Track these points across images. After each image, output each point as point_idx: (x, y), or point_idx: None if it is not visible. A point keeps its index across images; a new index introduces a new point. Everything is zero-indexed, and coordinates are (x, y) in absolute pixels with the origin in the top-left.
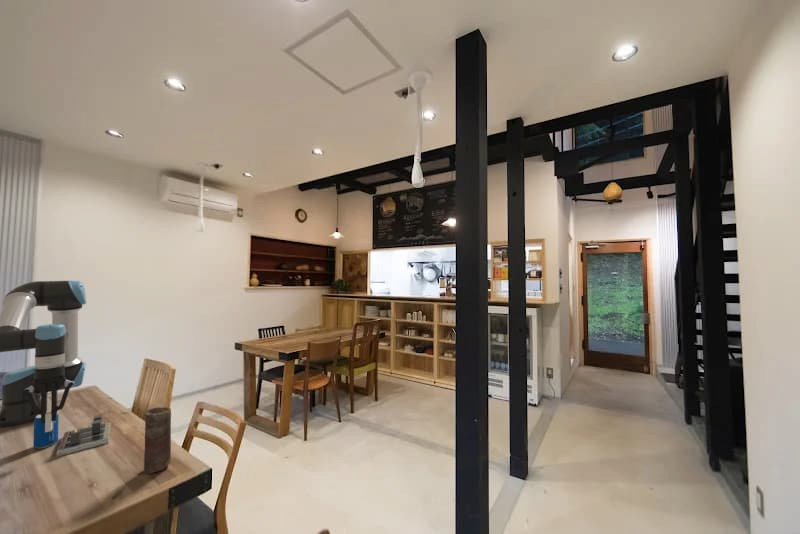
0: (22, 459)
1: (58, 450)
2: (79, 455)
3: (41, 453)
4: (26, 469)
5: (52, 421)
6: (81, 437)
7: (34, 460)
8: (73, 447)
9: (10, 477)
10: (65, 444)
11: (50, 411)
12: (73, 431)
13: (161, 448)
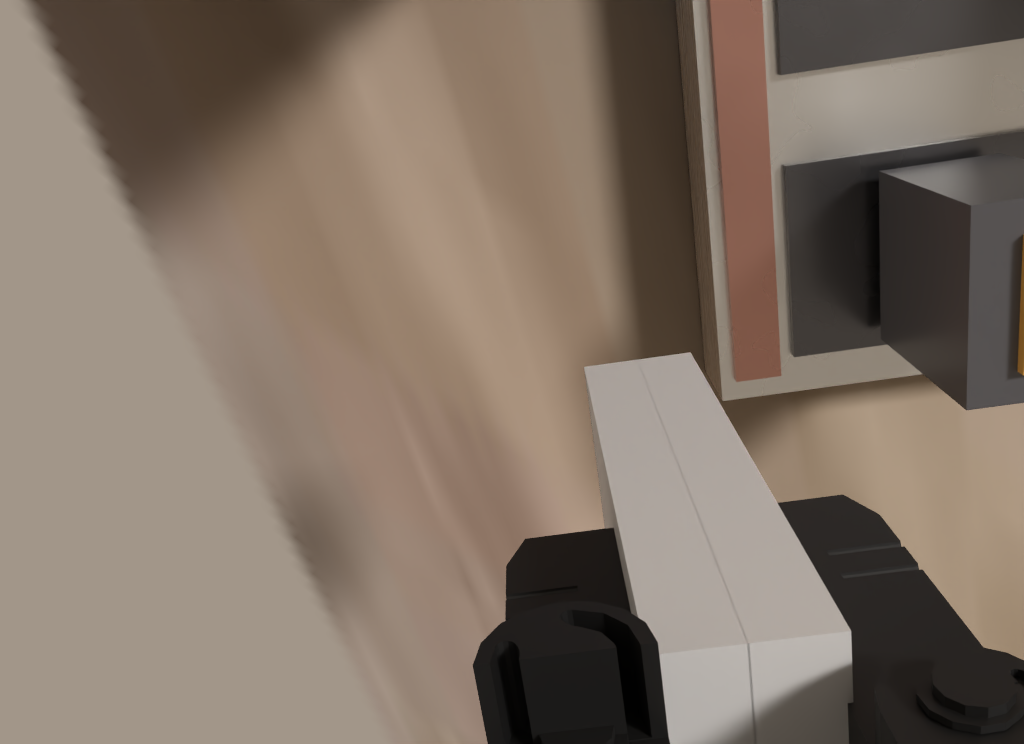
0: (287, 194)
1: (737, 388)
2: (959, 492)
3: (468, 112)
4: (469, 551)
5: (733, 435)
6: (994, 18)
7: (463, 329)
8: (910, 374)
9: (382, 660)
10: (795, 220)
11: (772, 645)
12: (1000, 272)
13: None
